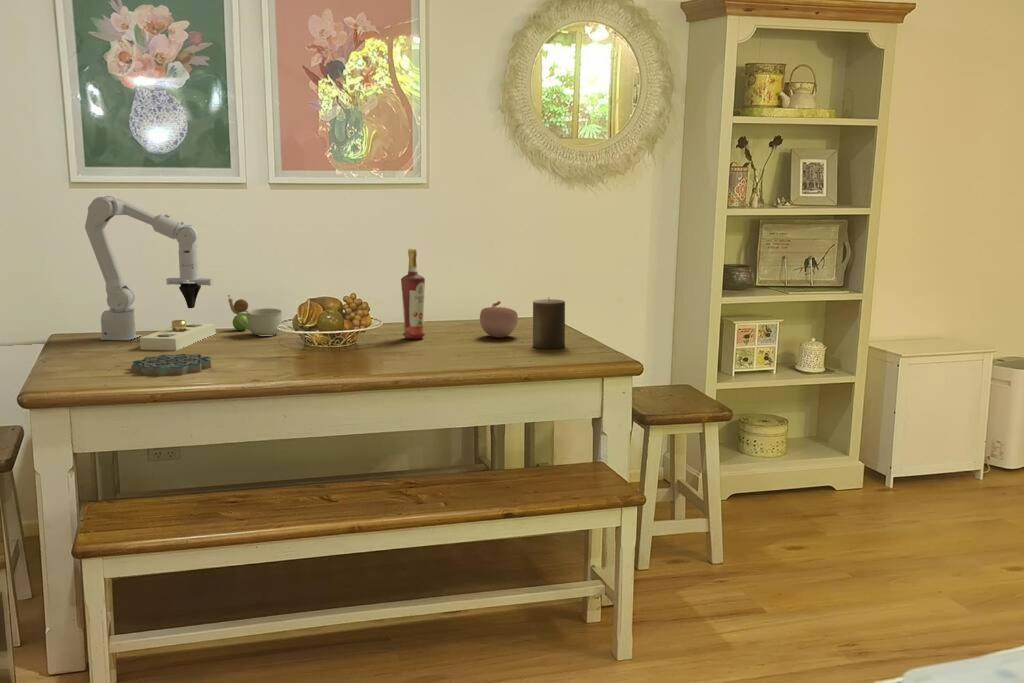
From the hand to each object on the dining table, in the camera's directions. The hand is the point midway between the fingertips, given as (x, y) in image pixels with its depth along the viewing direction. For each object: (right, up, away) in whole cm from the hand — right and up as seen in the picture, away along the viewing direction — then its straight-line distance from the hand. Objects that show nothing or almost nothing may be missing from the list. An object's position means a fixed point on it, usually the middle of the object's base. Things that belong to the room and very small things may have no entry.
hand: (191, 307), depth 302 cm
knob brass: (-1, -7, -8) cm, 11 cm away
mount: (-1, -11, -7) cm, 13 cm away
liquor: (+70, -10, -1) cm, 71 cm away
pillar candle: (+112, -12, -14) cm, 113 cm away
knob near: (-2, -12, -16) cm, 20 cm away
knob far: (0, -8, +2) cm, 9 cm away
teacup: (+21, -9, +5) cm, 23 cm away
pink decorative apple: (+97, -10, +1) cm, 97 cm away
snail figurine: (+12, -7, +13) cm, 19 cm away
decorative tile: (+10, -18, -45) cm, 50 cm away
